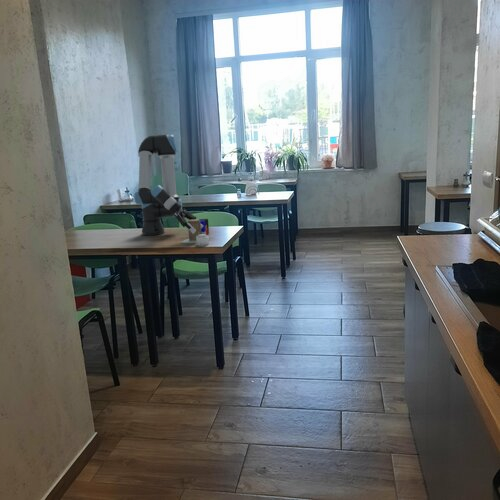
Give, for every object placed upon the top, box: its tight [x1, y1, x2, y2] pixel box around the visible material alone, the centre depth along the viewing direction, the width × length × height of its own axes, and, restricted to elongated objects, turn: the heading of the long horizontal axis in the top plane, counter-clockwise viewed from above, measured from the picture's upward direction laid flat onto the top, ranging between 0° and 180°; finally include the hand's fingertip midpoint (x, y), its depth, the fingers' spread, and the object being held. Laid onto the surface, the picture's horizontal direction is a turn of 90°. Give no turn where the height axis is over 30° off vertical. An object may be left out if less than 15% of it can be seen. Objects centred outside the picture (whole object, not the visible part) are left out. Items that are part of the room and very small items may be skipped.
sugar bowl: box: [196, 234, 210, 247], centre depth 271 cm, size 7×7×6 cm
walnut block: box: [187, 218, 201, 241], centre depth 282 cm, size 6×6×12 cm
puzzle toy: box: [199, 218, 210, 236], centre depth 299 cm, size 10×10×10 cm
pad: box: [180, 236, 211, 244], centre depth 284 cm, size 14×14×1 cm
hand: (198, 229), depth 282 cm, fingers open, 13 cm apart
